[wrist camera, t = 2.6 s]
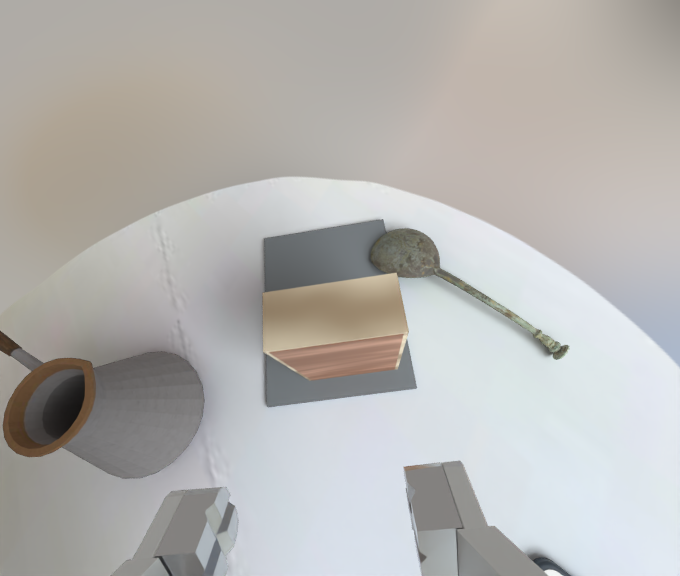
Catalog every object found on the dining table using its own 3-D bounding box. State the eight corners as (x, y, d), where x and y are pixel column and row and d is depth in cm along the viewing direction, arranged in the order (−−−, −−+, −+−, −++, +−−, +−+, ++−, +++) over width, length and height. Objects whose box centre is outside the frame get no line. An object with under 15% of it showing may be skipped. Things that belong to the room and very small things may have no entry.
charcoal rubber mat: (416, 388, 31) (416, 388, 31) (268, 407, 32) (266, 406, 32) (383, 221, 40) (383, 219, 39) (265, 240, 40) (264, 238, 40)
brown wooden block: (397, 369, 32) (408, 332, 19) (309, 381, 32) (263, 352, 20) (390, 330, 34) (396, 272, 21) (306, 342, 34) (262, 292, 21)
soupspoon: (393, 225, 39) (360, 264, 38) (393, 208, 36) (358, 250, 35) (574, 330, 32) (542, 383, 30) (594, 320, 29) (559, 379, 27)
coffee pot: (238, 396, 33) (138, 376, 20) (159, 502, 30) (-25, 565, 17) (117, 295, 40) (-21, 227, 26) (42, 373, 37) (-157, 342, 23)
